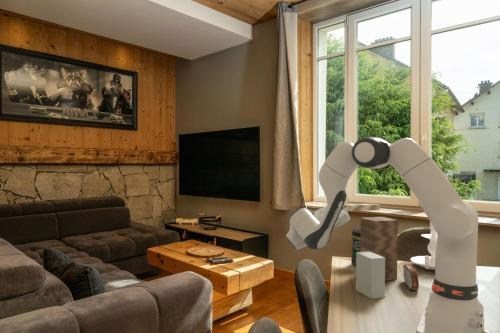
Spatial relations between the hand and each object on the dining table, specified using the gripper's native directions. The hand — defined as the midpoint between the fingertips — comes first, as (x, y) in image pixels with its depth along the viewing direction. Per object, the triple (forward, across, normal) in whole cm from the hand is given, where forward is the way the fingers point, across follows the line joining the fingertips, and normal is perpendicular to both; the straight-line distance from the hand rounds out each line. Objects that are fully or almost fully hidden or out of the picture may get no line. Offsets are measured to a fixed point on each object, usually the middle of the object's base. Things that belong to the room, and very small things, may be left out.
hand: (345, 206), depth 152 cm
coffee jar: (0, +16, +37) cm, 41 cm away
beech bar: (+4, 0, +4) cm, 6 cm away
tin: (+3, -15, +39) cm, 41 cm away
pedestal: (-15, -17, +28) cm, 36 cm away
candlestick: (+27, +4, +53) cm, 59 cm away
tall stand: (-1, 0, +36) cm, 36 cm away
